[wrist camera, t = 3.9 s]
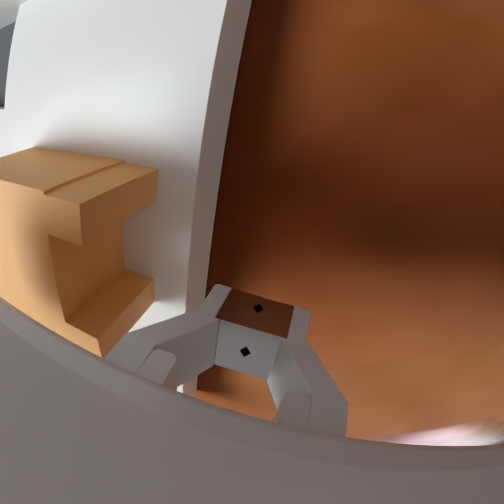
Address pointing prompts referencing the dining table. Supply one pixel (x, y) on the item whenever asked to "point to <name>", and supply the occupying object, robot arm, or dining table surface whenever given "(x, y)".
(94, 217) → the block
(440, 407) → the dining table surface
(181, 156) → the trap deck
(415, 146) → the dining table surface
